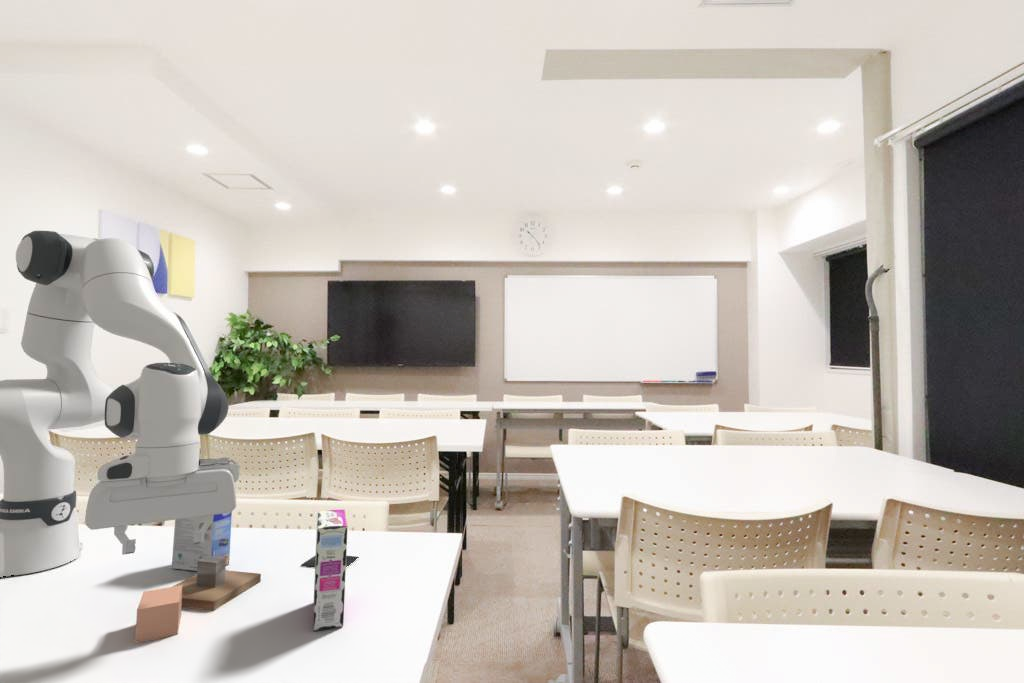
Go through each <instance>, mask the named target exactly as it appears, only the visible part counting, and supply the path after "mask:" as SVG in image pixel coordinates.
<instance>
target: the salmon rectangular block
mask: <svg viewBox="0 0 1024 683" xmlns="http://www.w3.org/2000/svg"><path fill="white" fill-rule="evenodd" d="M173 586H174V585H173ZM181 605H182V585H180V586H174V587H172V586H169V587H163V588H157V589H151V590H146V591H144V590H143V592H142V594H141V598H140V600H139V603H138V606H137V609H136V620H135V621H136V622H135V623H136V624H135V644H138V642H139V643H143V642H148V641H151V640H156V639H161V638H165V637H166V638H167V637H171V636H175V635H178V634H179V628H180V623H181V618H182V607H181Z"/></svg>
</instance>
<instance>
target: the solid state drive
mask: <svg viewBox="0 0 1024 683" xmlns="http://www.w3.org/2000/svg"><path fill="white" fill-rule="evenodd" d="M315 558H316V554H315V555H314V556H312V557H311V558H309V559H307V560H306V561H304V562H303V563H302V564H300V567H301V566H306V567H305V568H311V567H315ZM357 558H359V559H360V557H359V556H355V555H354V556H353V555H346V567H347V566H349V565H350V564H351V563H353V562H354V561H355V560H356V559H357ZM356 561H357V560H356ZM356 561H355V562H356ZM355 562H354V563H355ZM354 563H353V564H354ZM351 565H352V564H351ZM351 565H350V566H351ZM350 566H349V567H350ZM347 568H348V567H347Z"/></svg>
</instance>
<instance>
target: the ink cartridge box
mask: <svg viewBox="0 0 1024 683" xmlns="http://www.w3.org/2000/svg"><path fill="white" fill-rule="evenodd" d="M232 513H233V511H232V512H231V513H225V514H217V515H212V522H211V524H210V526H209V527H208V529H207V530H206V532H205V533H204V543H200V544H194V531H199V530H200V529H201V528H202V526H203V525H204V523H205V522H204V523H203V516H200V517H192V518H184V519H176V520H174V530H173V546H172V556H171V557H172V558H171V569H173V570H175V569H176V570H185V571H191V572H197V564H198V560H201V559H203V558H205V557H207V556H211V557H222V558H226V566H229V565H230V557H231V556H230V553H231V551H230V550H231V536H232V534H231V533H232V518H233V517H232Z"/></svg>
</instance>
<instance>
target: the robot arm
mask: <svg viewBox="0 0 1024 683" xmlns="http://www.w3.org/2000/svg"><path fill="white" fill-rule="evenodd" d="M15 260H16V268H17V271H18V272H19V274H20V275H21V276H22V277H23V278H24V279H25V280H28V281H30V282H33V283H35V285H34V287H33V291H32V293H31V295H30V296H31V297H30V299H29V303H28V305H27V306H28V307H27V312H26V317H25V321H24V325H23V326H24V327H23V333H22V337H21V342H20V345H21V348H22V350H23V352H24V353H25V354H26V355H27V356H28V357H29V358H31V359H32V360H35V361H36V362H38V363H41V364H43V365H45V366H46V370H47V371H46V373H47V374H46V378H37V379H36V378H35V379H33V378H31V379H30V378H29V379H28V378H25V379H3V380H0V457H1V460H2V467H3V498H2V499H0V577H1V578H4V577H3V576H6V577H12V576H11V575H14V576H19V575H20V576H22V575H26V574H27V575H28V574H33V573H36V572H37V573H38V572H41V571H46V570H51V569H53V568H57V567H60V566H63V565H66V564H68V563H70V561H71V562H73V561H74V559H75V560H76V559H77V558H79V557H80V556H81V552H80V551H81V550H82V549H83V548H84V544H83V542H80V535H79V534H80V532H79V521H78V520H79V518H78V514H77V512H76V511H74V509H75V508H76V507H77V501H78V496H77V491H76V490H75V477H76V476H75V475H76V458H75V456H74V455H73V454H72V453H71V452H70V451H69V450H67V449H65V448H63V447H60V446H57V445H53V444H52V443H51V442H50V440H49V437H48V430H57V429H67V428H68V429H69V428H78V427H84V426H87V425H88V426H89V425H92V424H95V423H99V422H103V421H104V425H105V427H106V428H107V429H108V431H110V432H111V433H112V434H113V435H115V436H117V437H118V438H120V439H121V438H122V439H129V440H130V439H136V443H135V446H134V447H135V450H134V453H131V454H129V455H124V456H121V457H119V458H116V459H112V460H110V461H108V462H106V463H103V465H101V466H100V467H99V468H98V471H97V479H98V481H99V482H97V483H96V485H94V486H93V488H92V489H91V491H90V493H89V496H88V501H87V505H86V510H85V516H84V517H85V518H84V524H85V525H86V526H87V528H88V529H90V530H91V531H93V530H94V531H95V530H101V529H111V528H114V529H113V534H114V537H115V538H116V539H117V540H118V541H119V542H120V545H121V546H122V548H121V549H122V553H121V554H122V555H130V554H134V553H135V552H136V543H137V542H136V538H135V539H130V538H129V537H128V535H127V534H126V531H127V529H128V526H133V525H134V526H135V525H141V524H142V525H143V524H149V523H156V522H157V523H159V522H165V521H175V520H176V519H184V518H192V517H200V516H203V523H204V522H205V523H204V525H203V526H202V528H201V529H200V530H199V531H194V544H200V543H204V533H205V532H206V530H207V529H208V527H209V526H210V524H211V522H212V515H217V514H225V513H231V512H232V513H233V511H234V510H235V509H236V508H237V491H236V489H237V488H236V482H237V481H238V480H239V477H240V465H239V463H238V461H236V460H234V459H231V458H230V457H227V456H226V457H225V456H224V457H221V458H220V457H219V458H202V459H200V457H201V455H200V454H201V436H200V435H209V434H211V433H212V432H214V431H215V430H216V429H218V427H219V426H220V425H222V423H223V422H224V421H225V419H226V417H227V416H228V412H229V400H228V397H227V395H226V393H225V391H224V389H223V388H222V386H221V385H220V384H219V383H218V381H217V380H216V379H215V378H214V376H213V374H212V372H211V371H210V368H209V366H208V364H207V363H206V361H205V358H204V356H203V354H202V352H201V351H200V348H199V346H198V344H197V343H196V341H195V339H194V337H193V334H192V333H191V331H190V329H189V327H188V325H187V324H186V322H185V320H184V319H183V318H182V317H181V316H180V315H179V314H178V313H176V312H174V311H172V309H170V308H169V307H168V306H167V305H166V303H164V301H163V300H162V299H161V297H160V296H159V295H158V294H157V292H156V290H155V286H154V282H153V279H154V274H155V266H154V263H153V260H152V258H151V257H150V255H149V254H147V253H146V252H144V251H142V250H139V249H137V248H136V247H135V245H133V244H132V243H129V242H128V241H125V240H123V239H118V238H115V237H114V238H113V237H112V238H111V237H110V238H107V237H106V238H100V239H99V238H95V237H94V238H90V237H86V236H79V235H72V234H67V233H66V234H65V233H58V232H57V231H52V230H32V231H31V232H29V233H27V234H25V235H24V236H23V237H22V238H21V240H20V242H19V244H18V246H17V248H16V251H15ZM95 325H96V326H98V327H99V328H101V329H102V330H105V332H108V333H109V334H112V335H116V336H119V337H122V338H125V339H126V338H127V339H129V340H130V339H131V340H134V341H137V342H141V343H142V344H145V345H149V346H151V347H153V348H156V349H158V351H161V352H162V353H163V354H165V356H166V357H167V358H168V360H169V362H154V363H150V364H147V365H145V366H144V367H142V370H141V373H140V376H139V377H138V378H136V379H135V380H133V381H132V382H130V383H127V384H121V385H120V386H118V387H116V388H115V389H114V390H113V388H112V387H111V386H110V384H108V383H107V382H105V381H104V380H103V379H102V378H101V377H100V376H99V374H97V372H96V370H95V368H94V365H93V361H92V351H91V350H92V343H93V336H94V331H95ZM82 547H83V548H82ZM81 548H82V549H81ZM80 549H81V550H80ZM79 555H80V556H79Z"/></svg>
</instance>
